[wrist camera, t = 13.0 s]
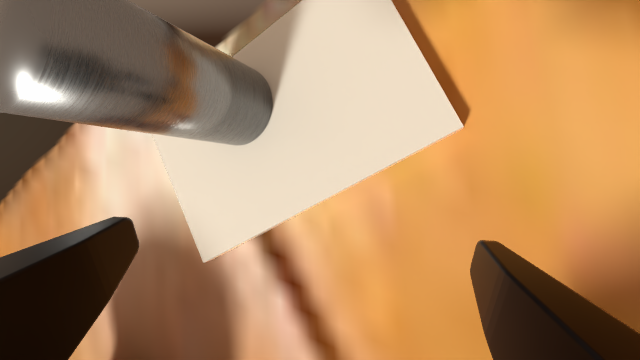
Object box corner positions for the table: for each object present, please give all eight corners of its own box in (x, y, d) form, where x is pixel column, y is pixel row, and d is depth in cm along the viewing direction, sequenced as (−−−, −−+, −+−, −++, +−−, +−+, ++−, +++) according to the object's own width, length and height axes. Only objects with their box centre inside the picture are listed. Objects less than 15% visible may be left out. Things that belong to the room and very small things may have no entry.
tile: (367, -39, 20) (363, -50, 19) (463, 128, 18) (463, 126, 17) (158, 126, 27) (147, 124, 26) (212, 259, 25) (203, 263, 24)
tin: (281, 73, 21) (62, -60, 9) (261, 154, 22) (32, 127, 10) (216, 61, 23) (-35, -63, 11) (200, 135, 24) (-54, 94, 12)
